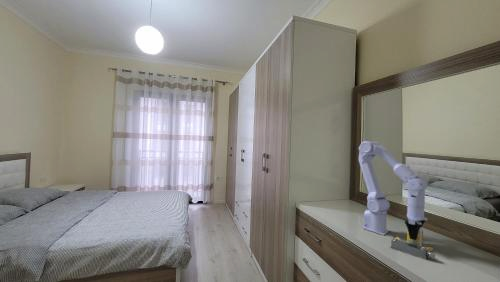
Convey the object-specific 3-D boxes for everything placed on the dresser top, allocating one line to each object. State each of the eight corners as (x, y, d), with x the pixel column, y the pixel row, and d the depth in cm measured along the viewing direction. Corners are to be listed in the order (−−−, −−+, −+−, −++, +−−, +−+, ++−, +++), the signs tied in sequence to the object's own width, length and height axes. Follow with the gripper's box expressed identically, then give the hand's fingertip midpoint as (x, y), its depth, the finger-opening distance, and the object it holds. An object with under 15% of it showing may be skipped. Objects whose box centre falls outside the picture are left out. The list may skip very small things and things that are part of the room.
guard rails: (391, 244, 90) (391, 241, 90) (396, 239, 95) (396, 236, 95) (429, 257, 81) (429, 254, 81) (432, 250, 86) (433, 247, 86)
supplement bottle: (414, 247, 88) (415, 224, 88) (403, 241, 94) (404, 219, 94) (426, 246, 89) (427, 224, 89) (414, 240, 95) (415, 219, 94)
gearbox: (391, 247, 87) (391, 239, 87) (393, 245, 90) (393, 237, 90) (434, 262, 77) (434, 253, 77) (435, 259, 80) (435, 250, 80)
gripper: (424, 211, 84) (423, 245, 84) (430, 205, 94) (429, 236, 93) (403, 206, 89) (401, 239, 89) (410, 201, 99) (409, 230, 99)
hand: (414, 237), depth 92 cm, fingers open, 5 cm apart
